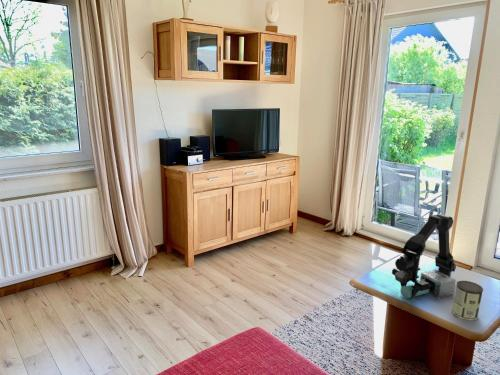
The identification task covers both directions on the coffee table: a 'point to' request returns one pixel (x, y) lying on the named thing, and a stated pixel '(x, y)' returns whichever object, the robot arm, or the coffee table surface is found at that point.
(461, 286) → the coffee can
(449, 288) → the housing
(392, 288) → the coffee table surface
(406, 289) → the pale green cylinder
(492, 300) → the coffee table surface
